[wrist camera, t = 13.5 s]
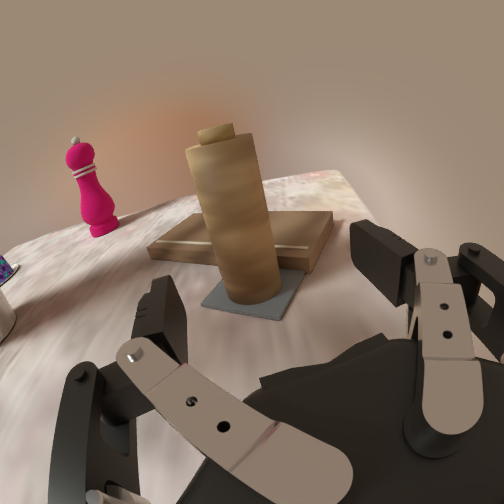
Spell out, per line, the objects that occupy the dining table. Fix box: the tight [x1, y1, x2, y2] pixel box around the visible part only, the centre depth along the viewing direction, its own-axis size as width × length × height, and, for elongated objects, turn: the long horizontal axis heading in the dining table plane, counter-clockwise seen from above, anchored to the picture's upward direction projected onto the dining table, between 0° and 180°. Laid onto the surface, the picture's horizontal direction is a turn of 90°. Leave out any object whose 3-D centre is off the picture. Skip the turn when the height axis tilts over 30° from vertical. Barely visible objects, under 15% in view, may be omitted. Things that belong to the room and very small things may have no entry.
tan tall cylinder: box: [185, 123, 282, 305], centre depth 20 cm, size 5×5×13 cm
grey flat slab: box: [201, 268, 305, 321], centre depth 23 cm, size 7×6×1 cm
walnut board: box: [147, 211, 334, 274], centre depth 32 cm, size 20×10×2 cm, turn 63°
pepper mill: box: [66, 137, 119, 237], centre depth 45 cm, size 7×7×20 cm
